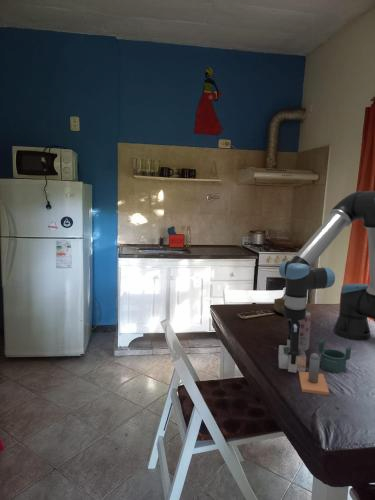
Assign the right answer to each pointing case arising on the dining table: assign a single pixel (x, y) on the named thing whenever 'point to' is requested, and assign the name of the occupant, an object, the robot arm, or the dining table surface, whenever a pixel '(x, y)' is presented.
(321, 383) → the keeper
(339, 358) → the bracket
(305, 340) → the beverage can
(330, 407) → the dining table surface
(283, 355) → the white square sleeve
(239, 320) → the dining table surface
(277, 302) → the bowl
